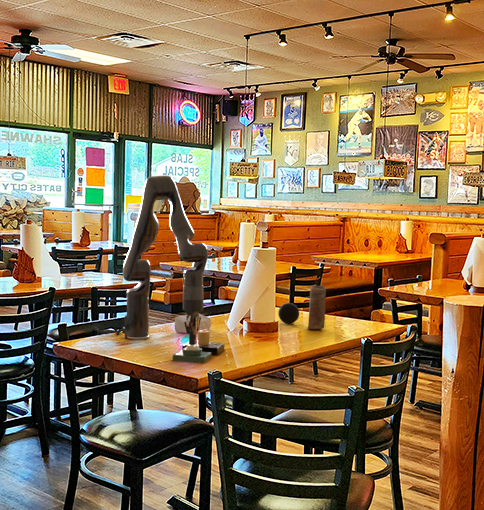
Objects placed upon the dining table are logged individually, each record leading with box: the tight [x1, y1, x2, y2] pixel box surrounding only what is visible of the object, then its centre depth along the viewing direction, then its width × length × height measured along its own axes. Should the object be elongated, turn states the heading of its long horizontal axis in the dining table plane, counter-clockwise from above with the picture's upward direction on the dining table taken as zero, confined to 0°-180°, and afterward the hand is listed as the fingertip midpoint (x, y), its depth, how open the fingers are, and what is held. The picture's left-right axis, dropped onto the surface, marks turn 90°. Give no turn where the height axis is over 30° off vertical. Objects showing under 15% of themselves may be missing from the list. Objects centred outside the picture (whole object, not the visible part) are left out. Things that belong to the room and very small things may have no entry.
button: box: [187, 344, 198, 350], centre depth 256 cm, size 4×4×2 cm
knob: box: [197, 330, 211, 345], centre depth 269 cm, size 4×4×5 cm
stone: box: [174, 313, 212, 334], centre depth 312 cm, size 11×17×10 cm, turn 137°
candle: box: [307, 285, 327, 331], centre depth 320 cm, size 8×7×20 cm
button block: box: [172, 347, 213, 364], centre depth 256 cm, size 12×9×4 cm
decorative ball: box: [277, 302, 300, 325], centre depth 335 cm, size 10×10×10 cm
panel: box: [181, 340, 226, 357], centre depth 269 cm, size 14×10×3 cm
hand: (192, 344), depth 256 cm, fingers closed
